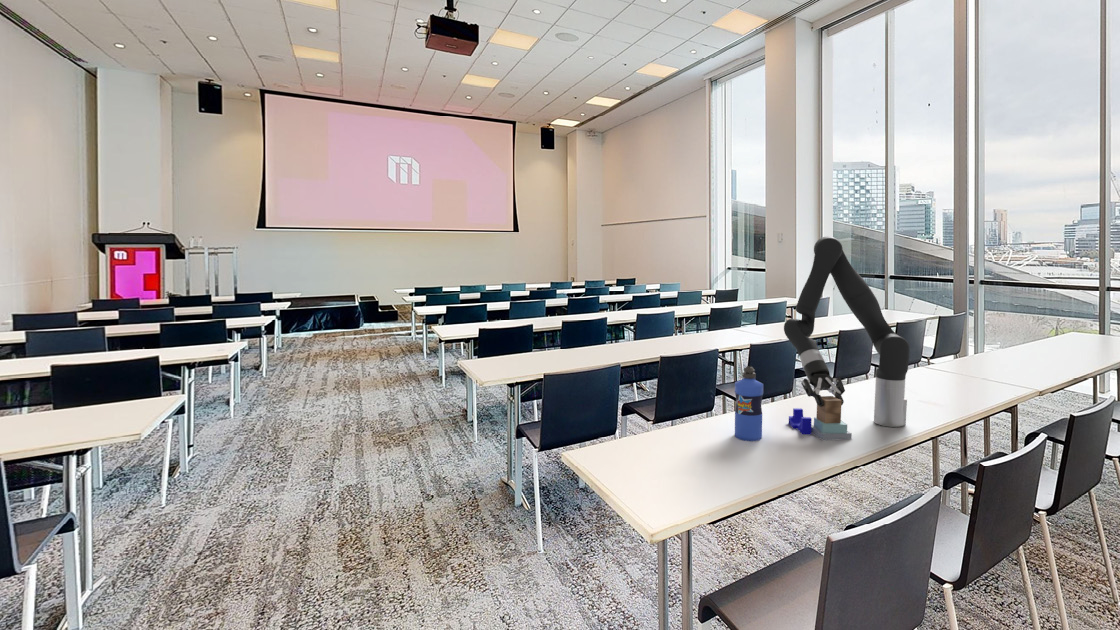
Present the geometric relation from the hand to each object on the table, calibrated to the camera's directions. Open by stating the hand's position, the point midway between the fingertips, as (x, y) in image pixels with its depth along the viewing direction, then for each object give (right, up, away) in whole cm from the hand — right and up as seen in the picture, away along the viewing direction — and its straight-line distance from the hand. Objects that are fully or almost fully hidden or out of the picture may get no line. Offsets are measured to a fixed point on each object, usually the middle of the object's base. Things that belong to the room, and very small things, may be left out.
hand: (831, 405), depth 183 cm
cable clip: (-7, -11, +10) cm, 16 cm away
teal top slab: (+1, -9, +2) cm, 9 cm away
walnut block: (0, -6, +2) cm, 6 cm away
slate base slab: (+1, -12, +3) cm, 12 cm away
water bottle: (-28, -12, +3) cm, 30 cm away
